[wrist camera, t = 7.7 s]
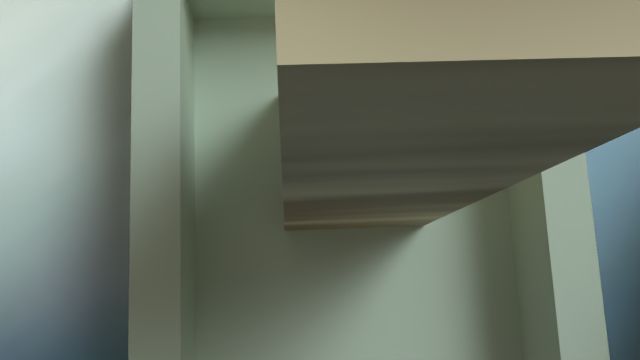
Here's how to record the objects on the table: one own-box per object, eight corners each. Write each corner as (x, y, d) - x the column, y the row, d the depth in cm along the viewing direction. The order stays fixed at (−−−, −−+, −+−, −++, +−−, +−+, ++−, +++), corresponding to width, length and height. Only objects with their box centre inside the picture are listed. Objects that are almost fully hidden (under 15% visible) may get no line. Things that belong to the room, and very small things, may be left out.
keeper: (571, 397, 17) (629, 420, 14) (144, 421, 17) (113, 449, 14) (523, -53, 20) (564, -113, 17) (148, -50, 19) (122, -112, 16)
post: (424, 225, 17) (804, 52, 5) (284, 231, 17) (277, 64, 4) (414, 91, 18) (720, -381, 5) (279, 94, 18) (261, -393, 5)
